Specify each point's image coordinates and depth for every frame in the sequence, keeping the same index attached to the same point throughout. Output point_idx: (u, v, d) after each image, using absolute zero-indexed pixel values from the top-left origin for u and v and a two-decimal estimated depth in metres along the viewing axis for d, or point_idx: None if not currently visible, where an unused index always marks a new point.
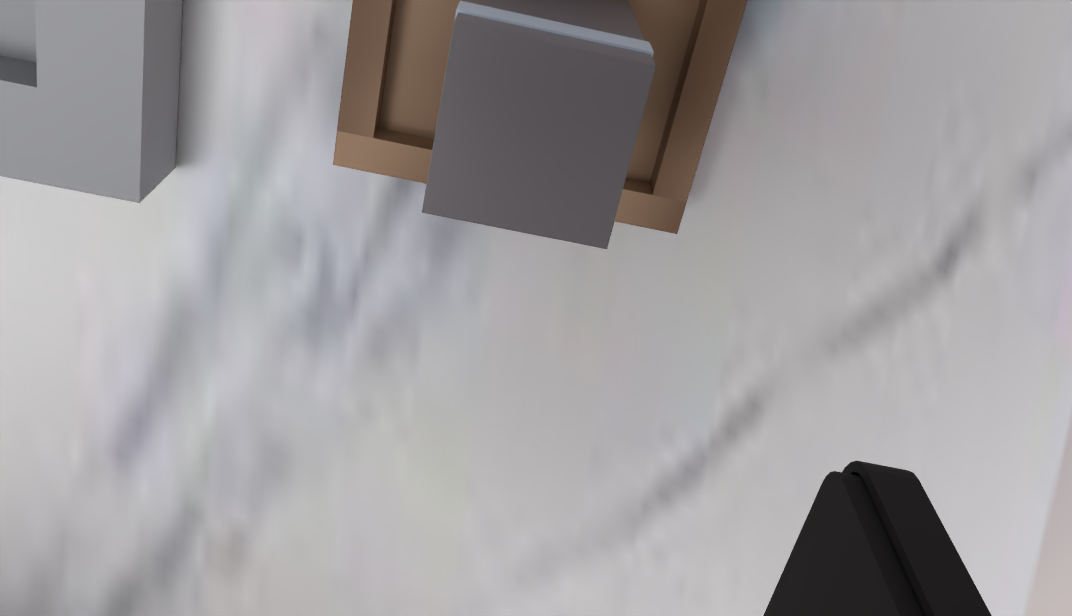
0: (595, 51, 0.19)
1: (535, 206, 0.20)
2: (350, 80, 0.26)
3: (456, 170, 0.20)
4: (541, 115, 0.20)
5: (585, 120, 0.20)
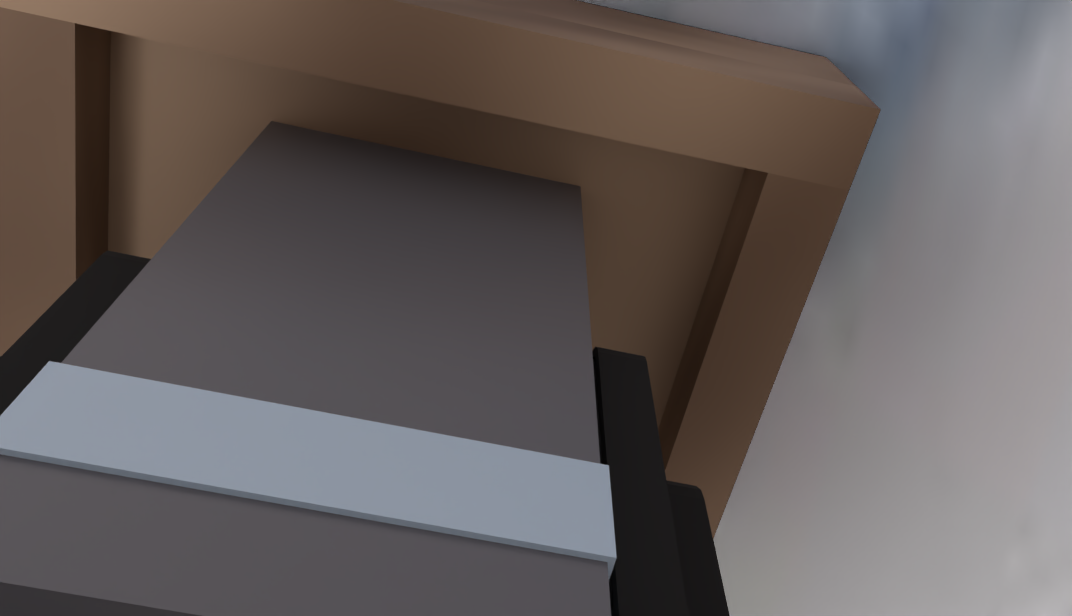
0: None
1: None
2: None
3: None
4: None
5: None
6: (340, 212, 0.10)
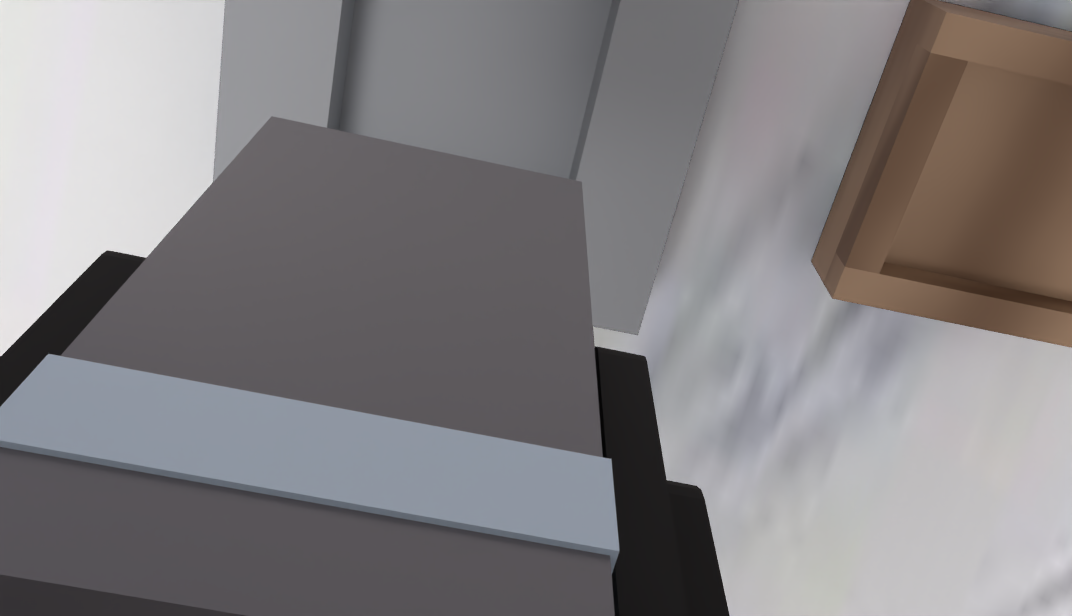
0: None
1: None
2: (871, 220, 0.26)
3: None
4: None
5: None
6: (341, 208, 0.10)
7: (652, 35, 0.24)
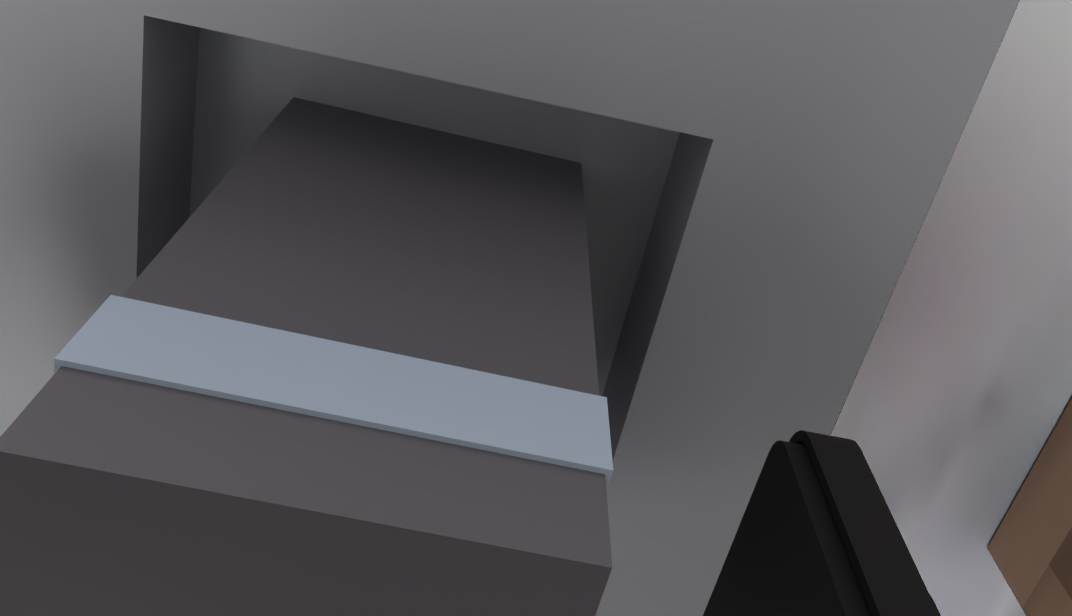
0: (436, 518, 0.06)
1: None
2: None
3: None
4: None
5: None
6: (360, 179, 0.11)
7: (760, 245, 0.12)
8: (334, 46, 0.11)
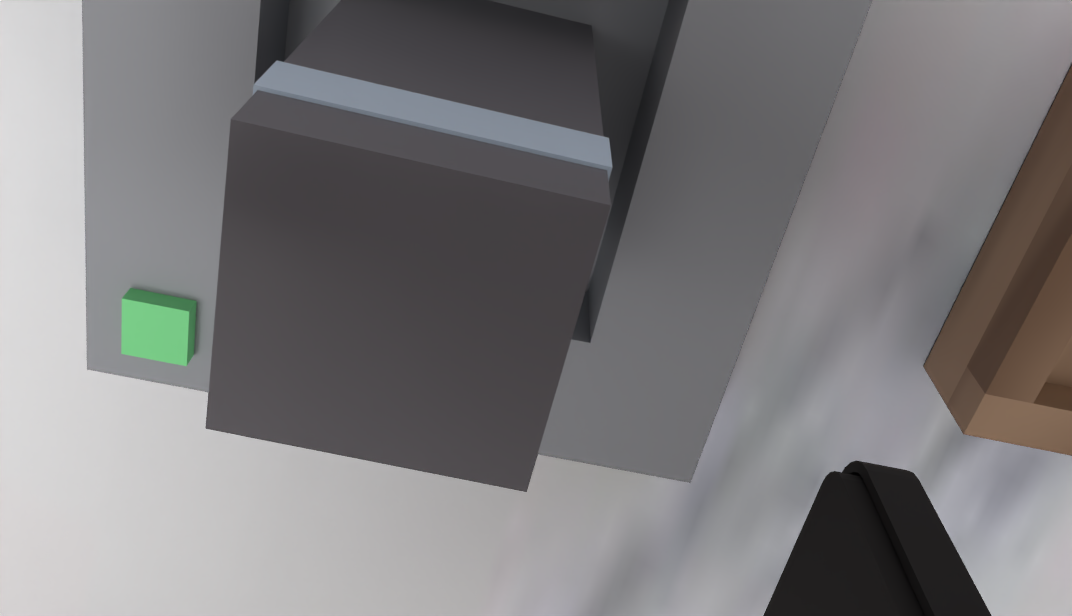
0: (500, 174, 0.10)
1: (401, 425, 0.12)
2: (1028, 333, 0.18)
3: (259, 366, 0.11)
4: (404, 283, 0.11)
5: (482, 293, 0.11)
6: (427, 21, 0.15)
7: (727, 77, 0.16)
8: None
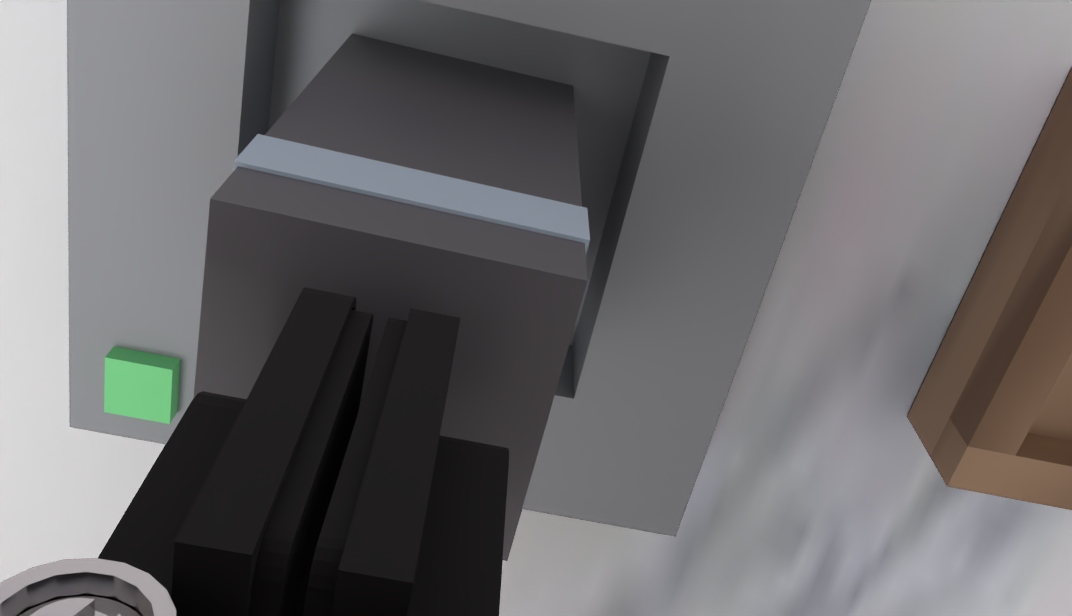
0: (478, 250, 0.10)
1: None
2: (1009, 386, 0.18)
3: None
4: None
5: (461, 367, 0.11)
6: (409, 85, 0.15)
7: (707, 139, 0.16)
8: None
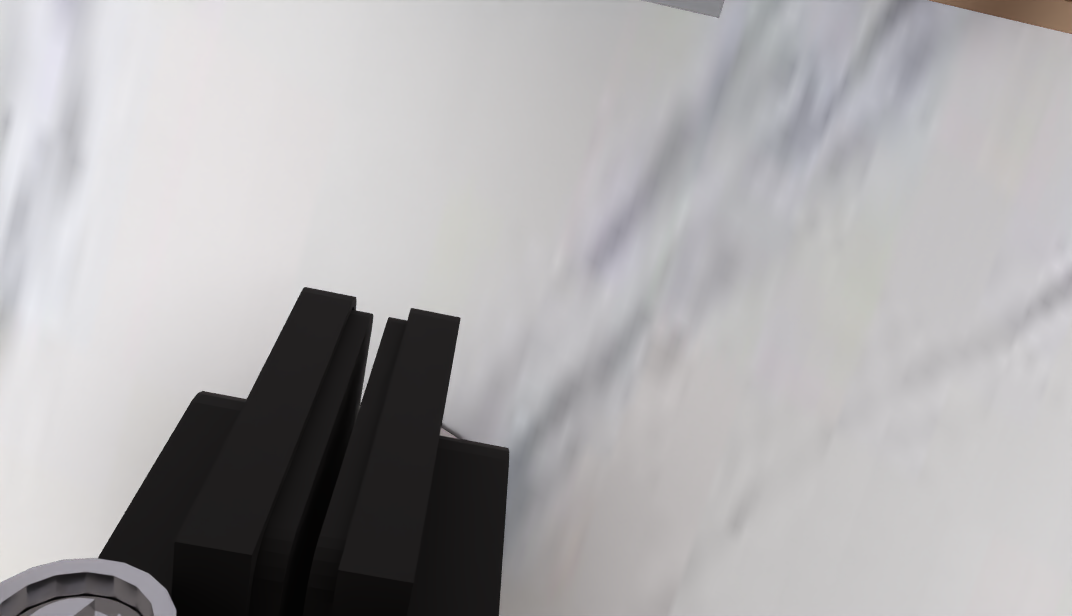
0: None
1: None
2: None
3: None
4: None
5: None
6: None
7: None
8: None
